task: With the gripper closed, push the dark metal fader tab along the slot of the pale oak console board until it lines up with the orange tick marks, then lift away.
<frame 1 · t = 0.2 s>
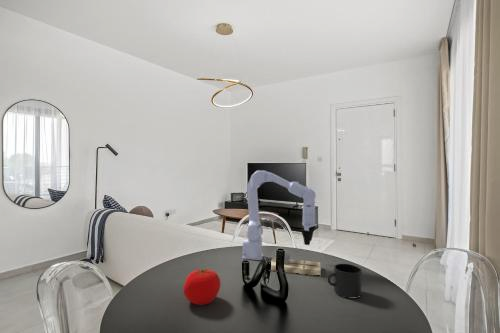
hand: (308, 242, 126), 10 cm above the table, tool pointing down, fingers open, 7 cm apart
fader tab: (286, 257, 119), point 5 cm above the table, slide at 0.0 cm
tomato: (202, 301, 88), on the table
console board: (295, 269, 118), on the table
mug: (343, 293, 96), on the table
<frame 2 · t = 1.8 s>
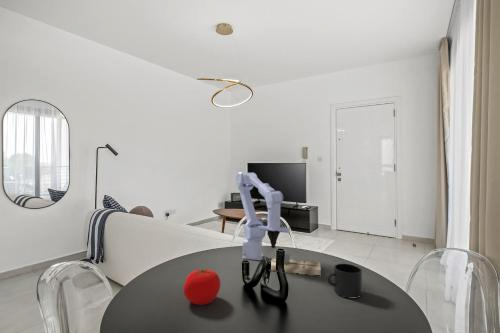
hand: (273, 247, 121), 9 cm above the table, tool pointing down, fingers closed
nothing on the table moved.
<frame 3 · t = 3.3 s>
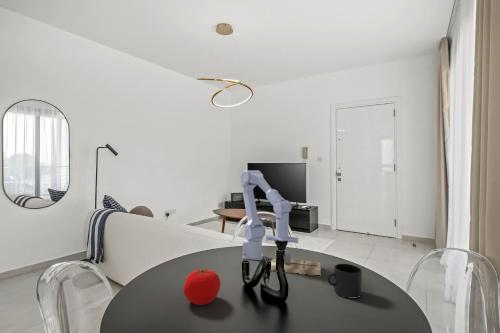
hand: (281, 257, 120), 5 cm above the table, tool pointing down, fingers closed
fader tab: (287, 258, 119), point 5 cm above the table, slide at 0.6 cm, touching gripper
everything else where it was.
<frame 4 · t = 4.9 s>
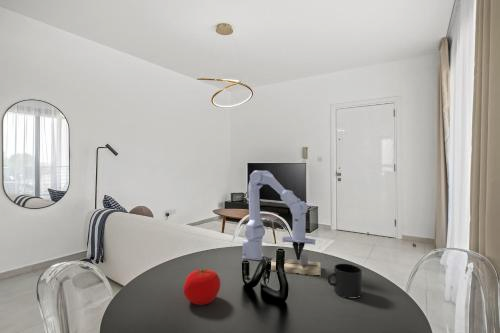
hand: (298, 259, 118), 5 cm above the table, tool pointing down, fingers closed
fader tab: (304, 259, 117), point 5 cm above the table, slide at 8.1 cm, touching gripper
everything else where it was.
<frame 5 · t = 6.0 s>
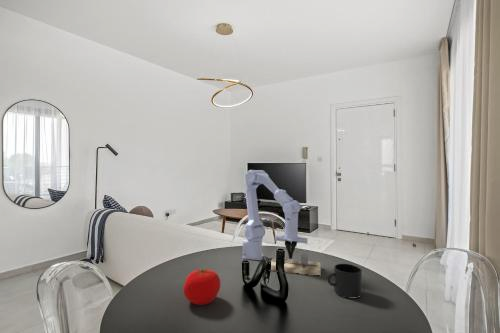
hand: (290, 257, 119), 5 cm above the table, tool pointing down, fingers closed
fader tab: (304, 259, 117), point 5 cm above the table, slide at 8.2 cm
everything else where it was.
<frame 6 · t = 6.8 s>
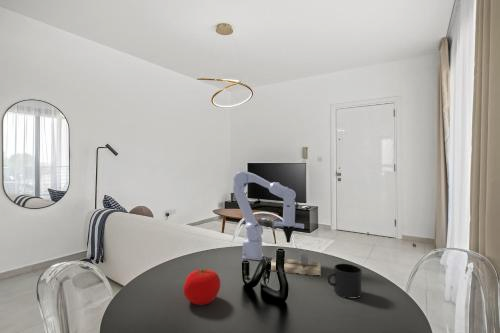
hand: (288, 242, 128), 9 cm above the table, tool pointing down, fingers closed
nothing on the table moved.
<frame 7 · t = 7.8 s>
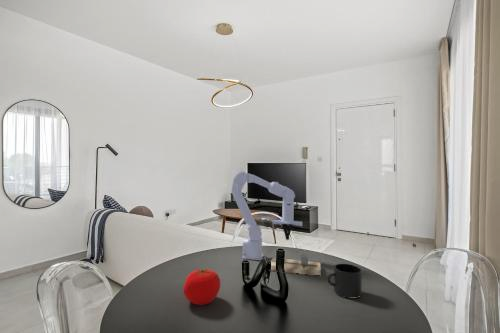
hand: (287, 239, 133), 9 cm above the table, tool pointing down, fingers closed
nothing on the table moved.
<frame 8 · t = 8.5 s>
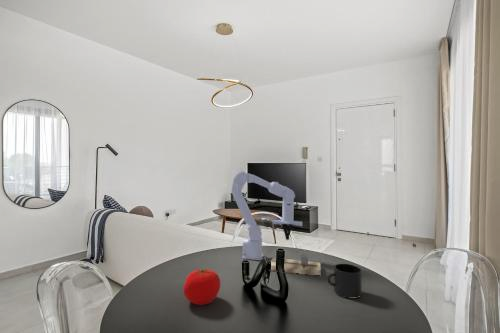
hand: (287, 239, 133), 9 cm above the table, tool pointing down, fingers closed
nothing on the table moved.
at the end: fader tab slide at 8.2 cm; the gripper is holding nothing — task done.
